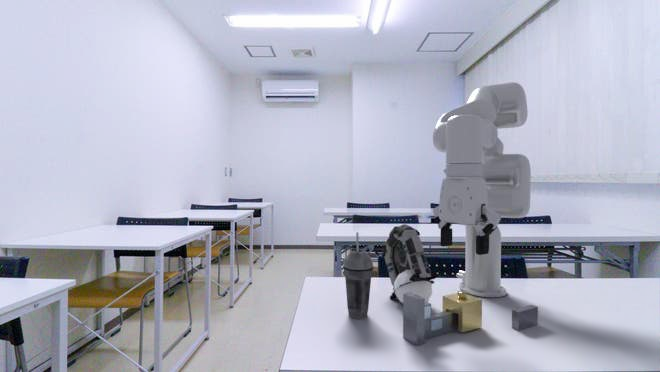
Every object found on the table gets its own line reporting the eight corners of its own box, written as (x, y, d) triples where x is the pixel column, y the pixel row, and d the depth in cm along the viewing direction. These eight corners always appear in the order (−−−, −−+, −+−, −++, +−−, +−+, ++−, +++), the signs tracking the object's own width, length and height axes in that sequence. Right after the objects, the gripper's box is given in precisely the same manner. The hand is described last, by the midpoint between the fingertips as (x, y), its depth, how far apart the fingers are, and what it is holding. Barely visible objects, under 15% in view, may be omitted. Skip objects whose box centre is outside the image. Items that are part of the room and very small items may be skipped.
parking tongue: (511, 327, 74) (512, 309, 74) (531, 322, 77) (531, 304, 77) (518, 330, 73) (518, 312, 73) (537, 324, 76) (537, 306, 76)
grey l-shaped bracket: (403, 337, 69) (403, 293, 69) (467, 320, 78) (467, 281, 78) (416, 345, 65) (416, 299, 65) (482, 327, 74) (482, 286, 74)
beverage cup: (376, 311, 83) (376, 230, 82) (369, 323, 76) (370, 234, 76) (347, 308, 85) (348, 229, 85) (338, 319, 78) (339, 233, 78)
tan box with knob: (442, 322, 75) (442, 290, 75) (461, 318, 78) (461, 287, 78) (462, 332, 70) (462, 298, 70) (481, 327, 73) (482, 294, 73)
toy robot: (453, 293, 79) (424, 213, 91) (416, 297, 76) (391, 213, 88) (420, 315, 92) (398, 243, 105) (388, 319, 90) (369, 244, 102)
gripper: (422, 172, 80) (422, 244, 80) (486, 171, 65) (486, 260, 65) (445, 173, 83) (445, 241, 84) (511, 171, 68) (510, 255, 69)
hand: (463, 249), depth 74 cm, fingers open, 9 cm apart
